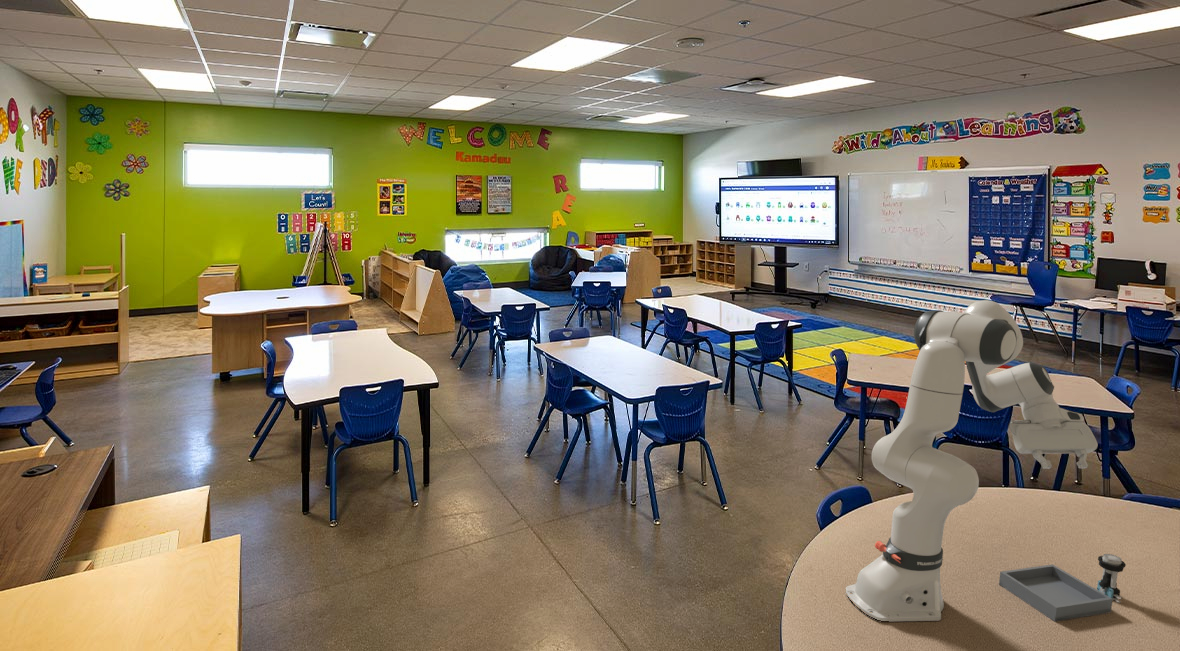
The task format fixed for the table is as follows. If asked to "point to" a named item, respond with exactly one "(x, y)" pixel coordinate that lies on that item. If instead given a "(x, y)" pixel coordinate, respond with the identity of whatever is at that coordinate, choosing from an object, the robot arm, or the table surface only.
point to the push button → (1110, 575)
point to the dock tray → (1055, 592)
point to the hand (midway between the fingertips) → (1065, 467)
